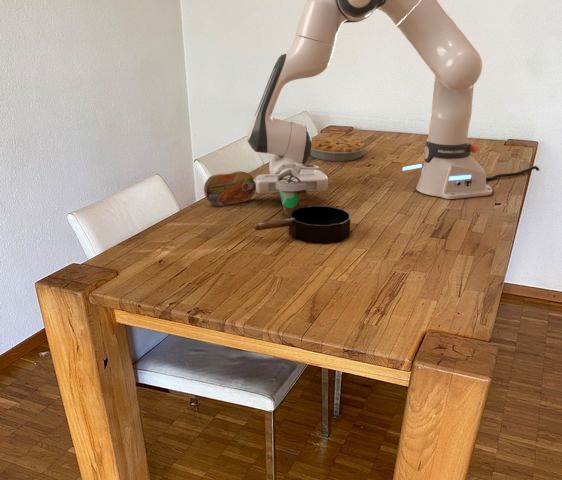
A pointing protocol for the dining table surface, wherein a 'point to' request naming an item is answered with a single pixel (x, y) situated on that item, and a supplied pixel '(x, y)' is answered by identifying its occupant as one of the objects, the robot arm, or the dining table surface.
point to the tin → (229, 188)
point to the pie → (337, 148)
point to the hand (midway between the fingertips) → (295, 191)
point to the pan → (314, 224)
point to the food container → (291, 192)
